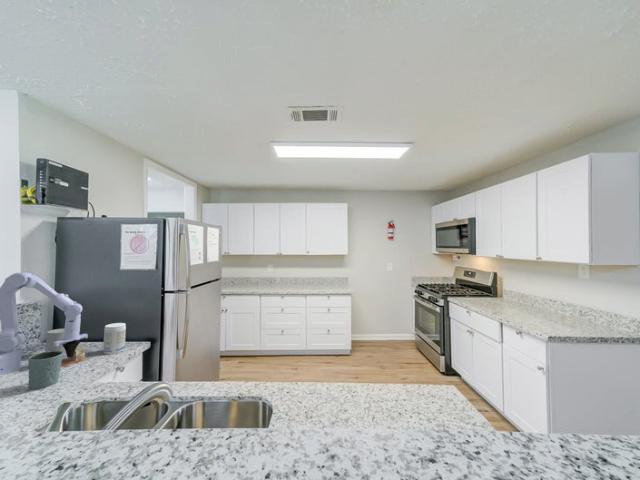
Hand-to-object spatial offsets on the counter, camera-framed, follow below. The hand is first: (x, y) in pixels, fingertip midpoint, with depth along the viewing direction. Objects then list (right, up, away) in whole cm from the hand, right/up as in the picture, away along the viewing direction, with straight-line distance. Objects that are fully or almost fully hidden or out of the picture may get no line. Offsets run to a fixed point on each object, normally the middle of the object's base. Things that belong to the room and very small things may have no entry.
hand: (69, 356), depth 135 cm
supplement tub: (+11, -4, +15) cm, 19 cm away
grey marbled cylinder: (-15, -3, +9) cm, 17 cm away
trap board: (0, -2, 0) cm, 2 cm away
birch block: (0, -2, +3) cm, 4 cm away
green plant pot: (+11, -2, -24) cm, 26 cm away
